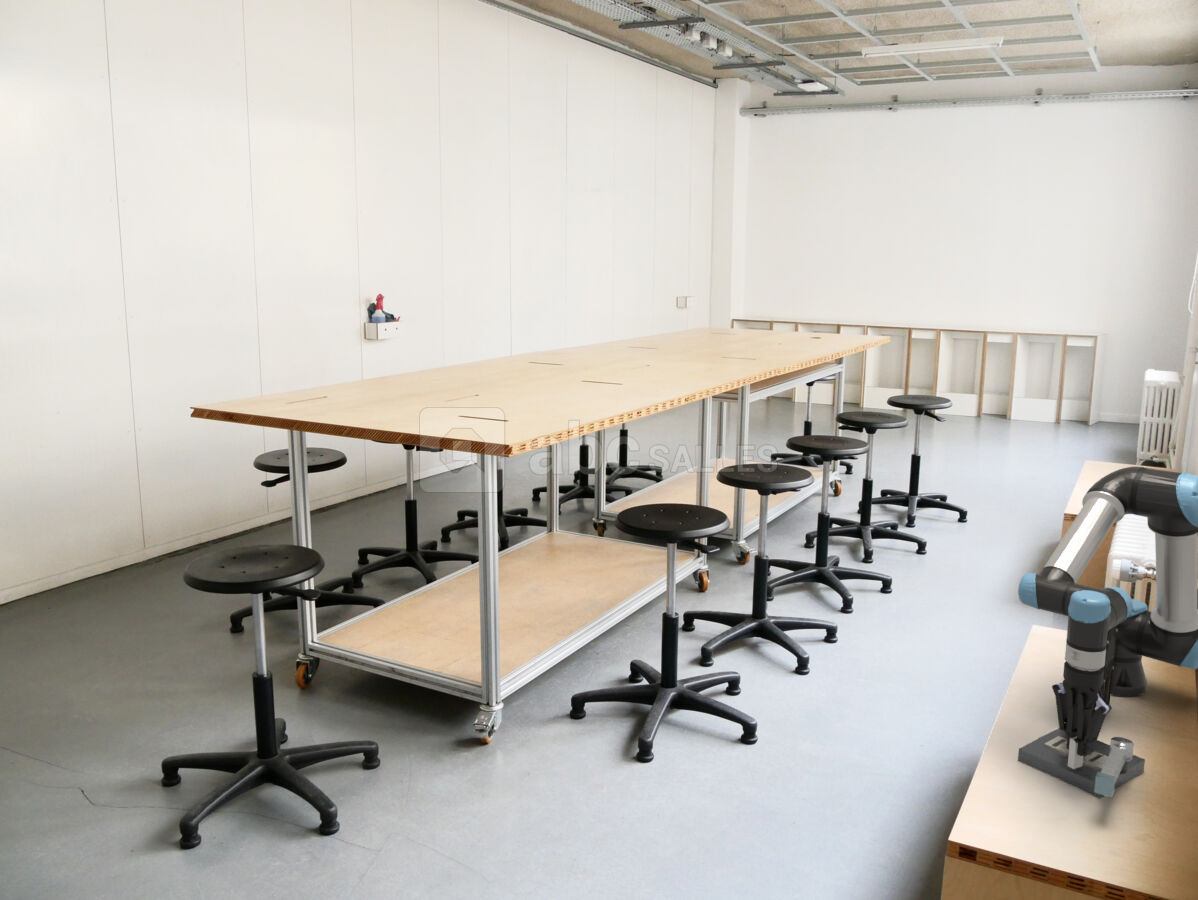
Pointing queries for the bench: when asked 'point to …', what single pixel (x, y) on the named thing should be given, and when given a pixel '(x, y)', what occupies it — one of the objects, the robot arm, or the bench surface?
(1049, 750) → the grey slotted box
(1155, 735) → the bench surface
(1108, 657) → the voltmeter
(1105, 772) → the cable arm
